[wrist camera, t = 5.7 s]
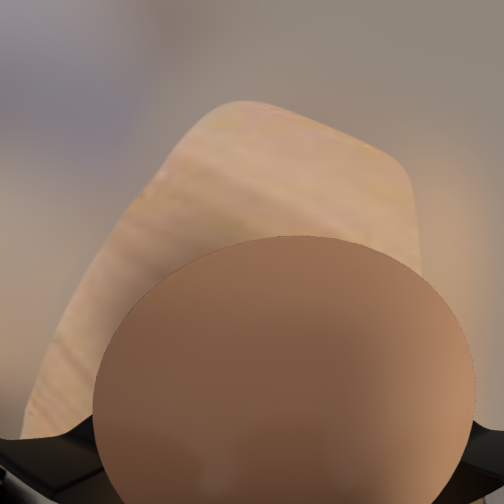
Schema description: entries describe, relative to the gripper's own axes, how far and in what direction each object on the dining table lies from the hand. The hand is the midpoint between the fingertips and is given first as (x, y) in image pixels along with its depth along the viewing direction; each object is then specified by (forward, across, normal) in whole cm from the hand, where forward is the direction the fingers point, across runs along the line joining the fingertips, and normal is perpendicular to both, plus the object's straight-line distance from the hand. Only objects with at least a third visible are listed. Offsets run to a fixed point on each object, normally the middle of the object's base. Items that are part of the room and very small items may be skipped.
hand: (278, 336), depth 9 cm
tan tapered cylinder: (+4, 0, +6) cm, 7 cm away
